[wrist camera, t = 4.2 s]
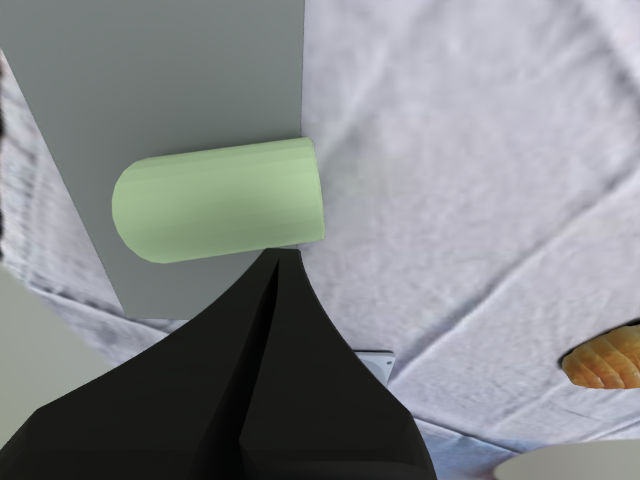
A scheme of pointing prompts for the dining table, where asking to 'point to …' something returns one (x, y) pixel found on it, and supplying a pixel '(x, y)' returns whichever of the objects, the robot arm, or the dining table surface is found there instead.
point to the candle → (220, 201)
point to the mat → (154, 110)
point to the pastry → (607, 360)
